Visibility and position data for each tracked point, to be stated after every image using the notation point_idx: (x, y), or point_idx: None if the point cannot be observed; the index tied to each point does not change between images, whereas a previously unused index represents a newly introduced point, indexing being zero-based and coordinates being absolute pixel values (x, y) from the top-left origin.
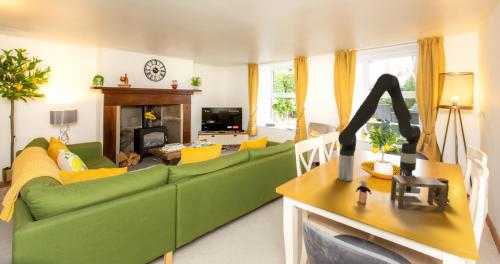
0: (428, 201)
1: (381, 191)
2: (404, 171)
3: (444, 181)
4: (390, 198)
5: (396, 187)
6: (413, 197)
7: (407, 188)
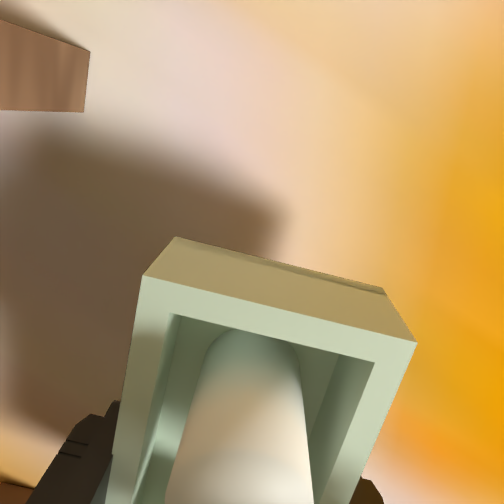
0: (9, 497)
1: (456, 109)
2: None
3: None
4: (77, 47)
5: (147, 272)
6: None
7: (81, 455)
